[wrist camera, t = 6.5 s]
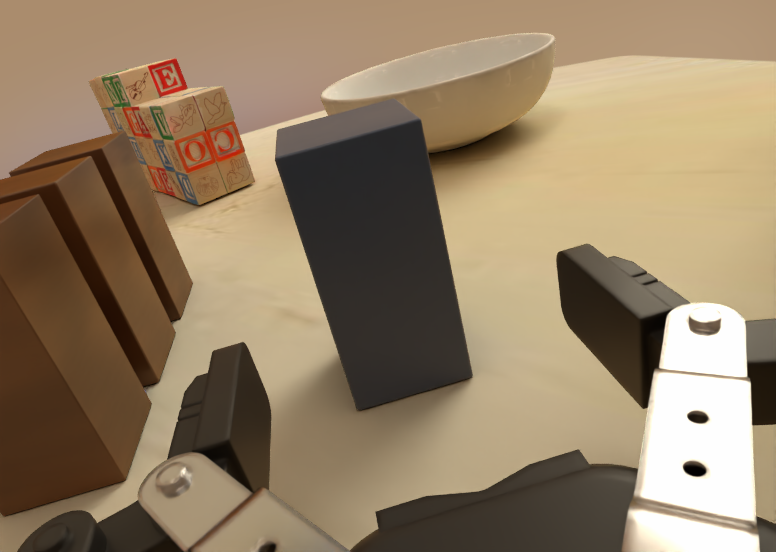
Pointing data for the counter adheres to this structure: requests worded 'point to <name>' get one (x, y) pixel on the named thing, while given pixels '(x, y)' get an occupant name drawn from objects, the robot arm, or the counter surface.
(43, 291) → the line block
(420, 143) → the block
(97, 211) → the line block
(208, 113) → the stack of blocks
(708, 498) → the robot arm
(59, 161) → the line block
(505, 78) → the serving bowl
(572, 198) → the counter surface
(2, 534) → the counter surface
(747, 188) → the counter surface
